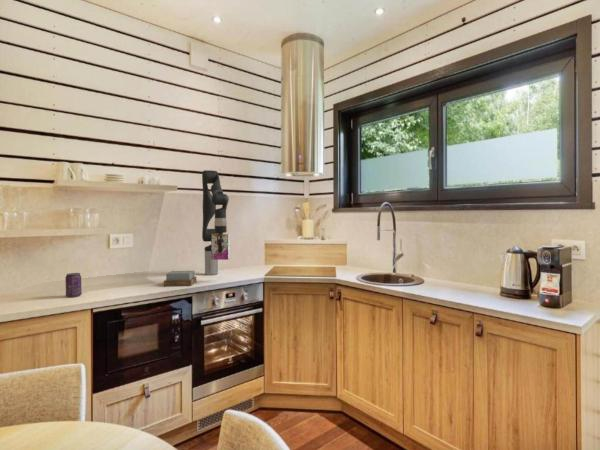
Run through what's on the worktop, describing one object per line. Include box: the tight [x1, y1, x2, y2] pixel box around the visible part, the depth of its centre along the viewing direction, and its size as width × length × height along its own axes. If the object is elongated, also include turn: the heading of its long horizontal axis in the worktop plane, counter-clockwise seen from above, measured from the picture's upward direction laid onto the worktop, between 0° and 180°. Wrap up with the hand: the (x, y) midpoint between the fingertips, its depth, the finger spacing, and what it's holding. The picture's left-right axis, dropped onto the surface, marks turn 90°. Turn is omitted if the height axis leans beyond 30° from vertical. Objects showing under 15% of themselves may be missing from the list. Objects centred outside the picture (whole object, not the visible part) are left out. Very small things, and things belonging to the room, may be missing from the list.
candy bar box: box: [210, 233, 231, 261], centre depth 228 cm, size 11×5×16 cm, turn 84°
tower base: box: [163, 276, 197, 288], centre depth 221 cm, size 14×16×4 cm
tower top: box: [165, 270, 195, 280], centre depth 221 cm, size 11×14×4 cm
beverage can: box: [65, 272, 83, 298], centre depth 188 cm, size 7×7×12 cm
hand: (220, 251), depth 228 cm, fingers closed on candy bar box, 5 cm apart
